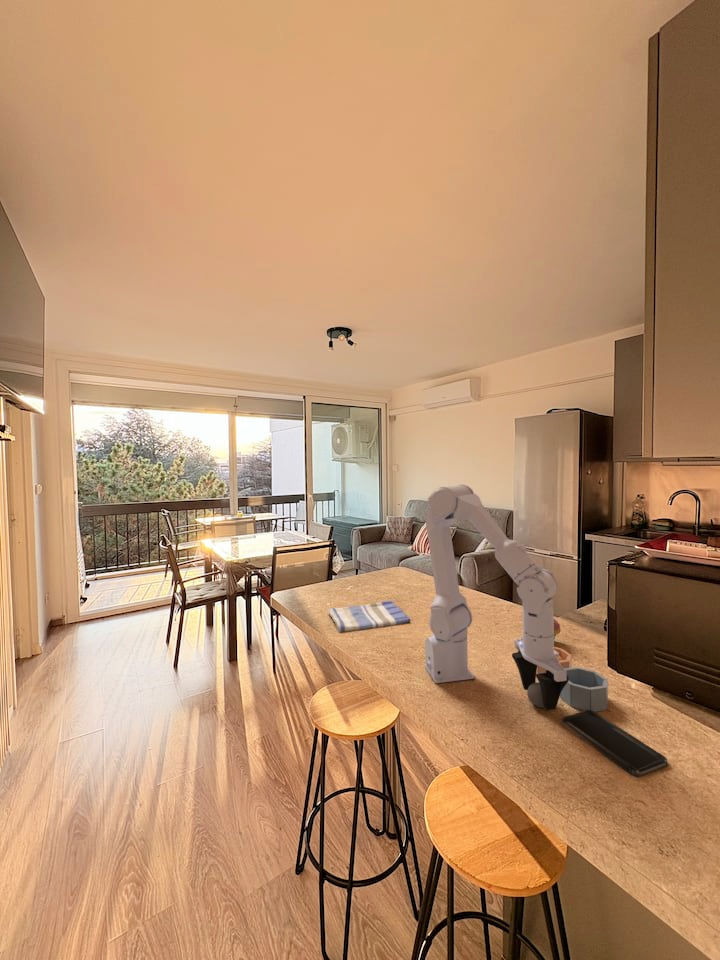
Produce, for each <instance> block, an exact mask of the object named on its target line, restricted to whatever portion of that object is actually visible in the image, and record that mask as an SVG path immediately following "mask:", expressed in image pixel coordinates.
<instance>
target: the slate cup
mask: <svg viewBox="0 0 720 960" xmlns="http://www.w3.org/2000/svg"><path fill="white" fill-rule="evenodd" d="M564 669H565V670H566V671H567V676H568V677H569V681H568V682H567V684H566V685H565V686H564V688H563V690H562V691H561V694H560V696H559V699H562V700H563V701H564V702H565V703H566V704H567V705H568V706H570V707H572V708H575V709H579V710H582V711H586V710H591V711H594V712H596V713H597V712H601V711H602V712H603V711H607V710H608V704H609V680H608V678H606V677H605V676H604V675H602V674H601V673H599V672H598V671H595V670H591V669H588V668H583V667H579V666H575V667H573V666H572V668H564Z"/></svg>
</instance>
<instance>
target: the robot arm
mask: <svg viewBox="0 0 720 960" xmlns="http://www.w3.org/2000/svg"><path fill="white" fill-rule="evenodd" d="M427 500H428V510H427V514H426V517H425V526H426V533H427V540H428V546H429V555H430V561H431V569H432V575H433V582H434V589H435V596H434V598H433V601H432V603H431V605H430V617H429V623H428V624H429V628H430V631H431V633H432V634H433V635H431V636H428V637H426V638H425V642H424V644H425V645H424V648H425V650H424V652H425V665H424V668H425V669H426V671H427V673H428V674H429V675H430V676H431V678H432V680H433V682H434V683H436V684H440V683H449V682H457V681H465V680H466V681H467V680H473V679H476V675H475V674H473V672H472V671H471V670H470V669H469V666H468V665H469V662H468V659H469V656H468V655H469V654H468V651H469V650H468V628H469V627H470V626H471V625H472V622H473V614H472V611H471V609H470V608H469V606H468V603H467V598H466V597H465V596H464V595H463V594H462V593H461V592H460V587H459V585H460V584H459V578H458V572H457V565H456V559H455V553H454V552H455V551H454V545H453V540H452V539H453V538H452V531H451V526H452V525H453V524H454V522H455V521H456V520H457V519H459V520H463V521H464V520H465V521H469V522H470V523H471V524H472V526H473V527H474V528H475V529H477V530H478V532H479V533H480V534H481V535H482V537H484V538H485V540H486V541H488V543H489V544H490V545H491V546H492V547H493V548H494V558H495V559H496V560H497V562H498V563H499V564H500V565H501V567H502V568H503V569H504V570H505V571H506V572H507V574H508V576H509V577H510V578H511V579H512V580H513V582H514V583H515V584H516V585H518V586H516V592H517V594H518V597H519V599H521V601H522V638H514V648H515V649H516V650H517V652H513V653H512V654H511V657H512V659H513V660H514V662H515V664H516V667H517V669H518V672H519V673H518V674H519V676H520V681H521V685H522V687H523V690H525V691H526V690H528V687H529V686H530V685H531V684H532V683H536V679H537V680H538V683H540V687H541V691H542V698H543V705H544V707H543V708H544V710H546V711H553V710H556V709H557V706H558V703H559V699H560V694H561V691H562V690H563V688H564V686H565V685H566V684H567V682H568V681H569V677H568V676H567V671H566V670H565V669H564V668H563V667H562V666H561V664H560V663H559V661H558V659H557V658H556V657H559V653H558V652H556V651H555V650H554V647H555V639H554V619H555V618H554V617H555V616H554V597H553V596H554V595H555V593H556V592H557V590H558V581H557V580H556V578H555V576H554V575H553V573H552V572H551V571H550V570H548V569H544V568H543V567H542V565H541V564H538V563H537V562H536V561H535V560H534V559H533V557H532V556H531V555H530V554H529V553H528V552H527V551H526V550H527V549H528V548H527V547H526V545H525V544H524V543H519V541H517V540H514V539H509V538H508V537H507V535H506V534H505V532H504V531H503V530H502V529H501V527H500V526H499V525H498V524H497V522H496V521H495V520H494V518H493V517H492V515H491V514H490V513H489V512H488V510H487V509H486V508H485V506H484V505H483V503H482V500H481V498H480V496H479V495H477V494H476V493H475V492H474V490H473V488H472V487H470V486H468V485H466V484H458V485H453V486H439V487H438V488H436V489H435V490H434V491H432V493H431V494H430V496H429V497H428V498H427ZM537 666H540V667H542V668H544V669H545V670H546V673H540V674H536V670H537Z"/></svg>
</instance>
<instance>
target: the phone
mask: <svg viewBox="0 0 720 960" xmlns="http://www.w3.org/2000/svg"><path fill="white" fill-rule="evenodd" d="M561 720H562V722H561V723H562V725H563V726H564V727H565V728H566V729H568V730H570V731H571V732H572V733H573V734H575V735H576V736H577V737H579V738H580V739H581V740H583V741H584V742H585V743H587V744H588V745H589V746H591V747H592V748H594V749H595V750H596V751H598V752H599V753H600V754H602V755H603V756H604V757H605V758H607V759H608V760H610V761H611V762H612V763H614V764H615V765H617V766H618V767H619V768H620V769H622V770H623V771H625V772H626V773H627V774H628V775H631V776H632V777H635V778H641V777H645V776H647V775H650V774H651V773H655V772H657V771H660V770H662V769H665V768H667V767H668V758H667V757H666V756H665V755H663V754H662V753H659V752H658V751H657V750H655V749H653V747H650V745H647V744H646V743H644V742H643V741H642V740H639V739H638V738H636V737H635V736H633V735H631V734H630V733H629V732H627V731H626V730H624V729H623V728H621V727H619V726H618V725H616V724H615V723H613V722H611V721H610V720H608V719H607V718H605V717H604V716H602V715H600V714H599V713H597V711H596V712H594V711H591V710H586V711H585V710H582V711H579V712H577V713H573V714H570V715H566V716H563V717H562V719H561Z"/></svg>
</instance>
